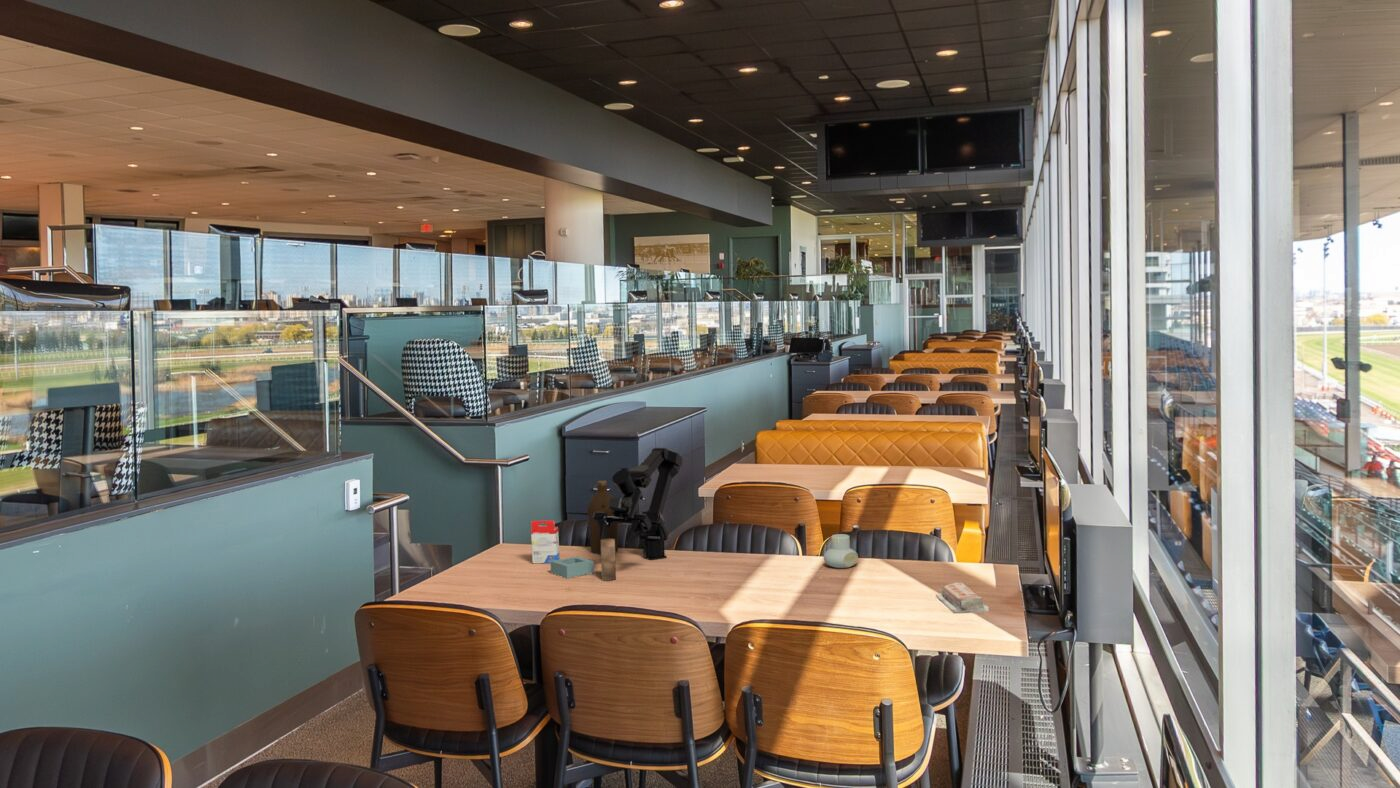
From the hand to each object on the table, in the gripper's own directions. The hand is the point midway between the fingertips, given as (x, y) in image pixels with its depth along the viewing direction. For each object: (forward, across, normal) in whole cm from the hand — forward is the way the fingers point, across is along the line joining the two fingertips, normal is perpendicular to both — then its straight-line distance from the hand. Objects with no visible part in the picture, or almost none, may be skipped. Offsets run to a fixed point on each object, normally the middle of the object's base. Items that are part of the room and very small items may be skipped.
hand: (613, 542), depth 336 cm
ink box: (0, -33, +16) cm, 36 cm away
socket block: (+8, -15, +8) cm, 19 cm away
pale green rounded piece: (-16, +64, +31) cm, 73 cm away
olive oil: (-16, -22, +31) cm, 41 cm away
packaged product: (+9, +108, +8) cm, 109 cm away
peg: (+10, 0, +5) cm, 11 cm away
